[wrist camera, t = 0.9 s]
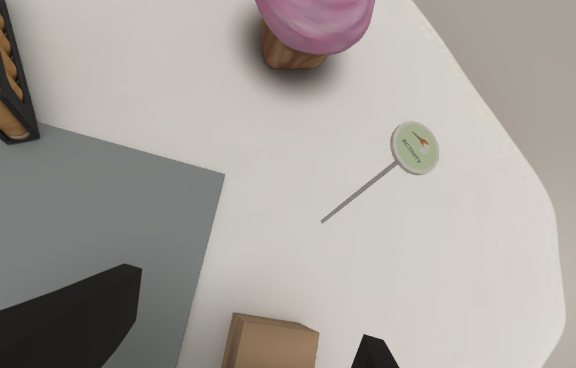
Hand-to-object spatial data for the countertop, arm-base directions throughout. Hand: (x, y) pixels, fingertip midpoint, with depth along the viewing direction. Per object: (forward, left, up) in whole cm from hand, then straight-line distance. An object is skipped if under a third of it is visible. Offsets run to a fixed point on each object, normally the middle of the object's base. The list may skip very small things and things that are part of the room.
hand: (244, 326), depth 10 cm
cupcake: (+21, -2, -14) cm, 26 cm away
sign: (+12, -13, -14) cm, 23 cm away
